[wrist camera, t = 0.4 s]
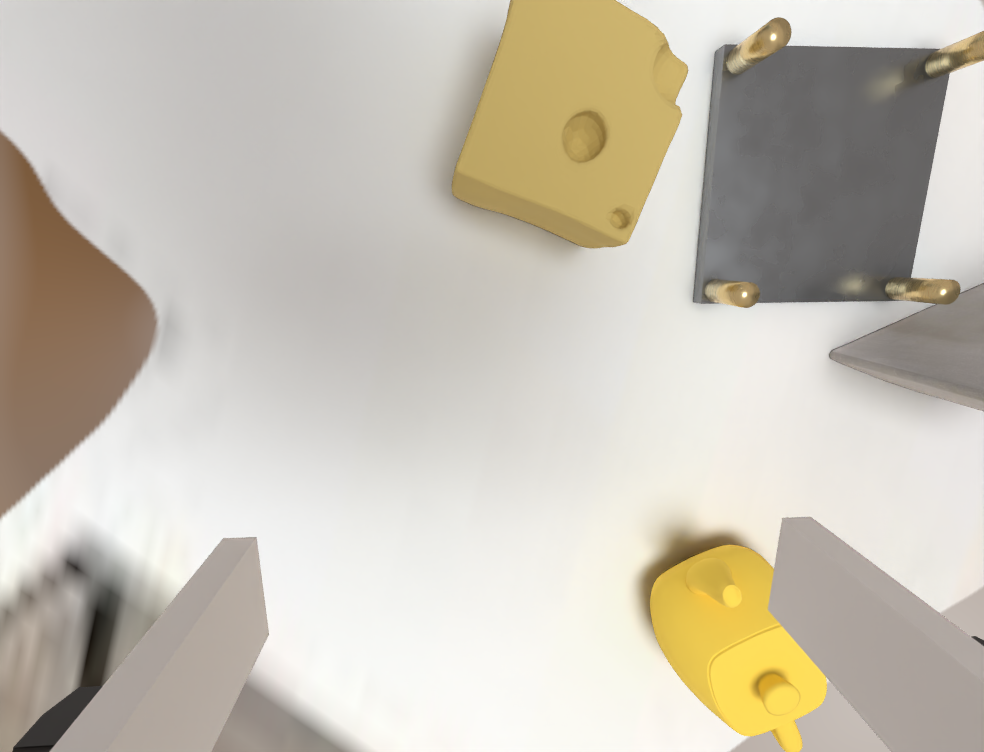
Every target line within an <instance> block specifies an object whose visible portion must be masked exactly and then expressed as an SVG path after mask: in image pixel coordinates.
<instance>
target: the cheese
mask: <svg viewBox="0 0 984 752" xmlns="http://www.w3.org/2000/svg"><path fill="white" fill-rule="evenodd" d="M687 73H688V67H687V65H686V64H685V63H684V62H682V61H681V60H679V59H678V58H677V57H676V56H675V55H674V54H673V53H672V52H671V50H670V48H669V45H668V42H667V40H666V37H665V35H664V34H663V33H662V32H661V31H660V30H659V29H658V27H656V26H655V25H654V24H652V23H651V22H650V21H648V20H647V19H646V18H644V17H642V16H640V15H639V14H637V13H635V12H633V11H632V10H630V9H629V8H627V7H625V6H624V5H622V4H621V3H619V2H617V1H616V0H510V5H509V10H508V15H507V20H506V24H505V27H504V30H503V34H502V37H501V40H500V43H499V46H498V49H497V52H496V55H495V58H494V61H493V64H492V67H491V70H490V72H489V75H488V78H487V81H486V84H485V87H484V89H483V92H482V95H481V98H480V101H479V103H478V106H477V109H476V112H475V115H474V118H473V120H472V123H471V126H470V129H469V131H468V134H467V137H466V140H465V142H464V145H463V148H462V151H461V153H460V156H459V158H458V161H457V164H456V167H455V171H454V176H453V181H452V193H453V196H455V197H456V198H458V199H460V200H462V201H464V202H467V203H469V204H471V205H474V206H477V207H480V208H483V209H487V210H491V211H495V212H499V213H503V214H506V215H508V216H511V217H514V218H517V219H519V220H522V221H525V222H528V223H530V224H533V225H535V226H537V227H540V228H542V229H544V230H546V231H549V232H551V233H553V234H555V235H558V236H560V237H562V238H564V239H566V240H569V241H571V242H573V243H575V244H577V245H580V246H582V247H586V248H602V247H616V246H621V245H624V244H626V243H627V242H628V241H629V239H630V237H631V234H632V232H633V230H634V228H635V225H636V223H637V221H638V218H639V216H640V213H641V211H642V209H643V206H644V204H645V201H646V199H647V197H648V194H649V192H650V190H651V188H652V185H653V183H654V181H655V178H656V176H657V173H658V171H659V168H660V166H661V164H662V161H663V159H664V156H665V154H666V152H667V149H668V147H669V145H670V143H671V141H672V139H673V137H674V135H675V132H676V130H677V128H678V125H679V123H680V120H681V117H682V113H681V110H680V107H679V106H677V105H676V104H675V102H676V98H677V96H678V93H679V91H680V89H681V87H682V85H683V83H684V81H685V79H686V76H687Z"/></svg>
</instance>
